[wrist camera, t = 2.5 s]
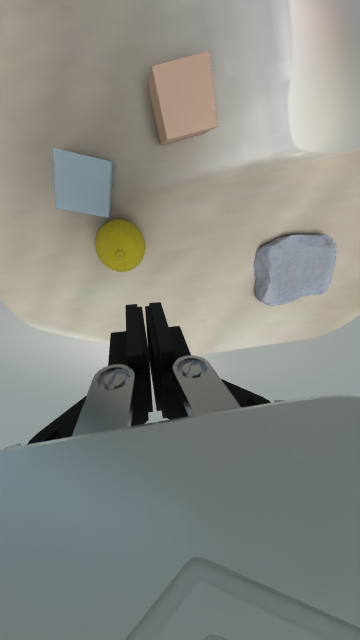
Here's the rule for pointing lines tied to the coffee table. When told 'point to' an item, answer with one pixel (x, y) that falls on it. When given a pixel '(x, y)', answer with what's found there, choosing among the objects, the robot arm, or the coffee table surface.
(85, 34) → the coffee table surface
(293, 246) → the stone block
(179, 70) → the terracotta block
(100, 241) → the lemon
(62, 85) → the coffee table surface
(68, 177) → the slate block
